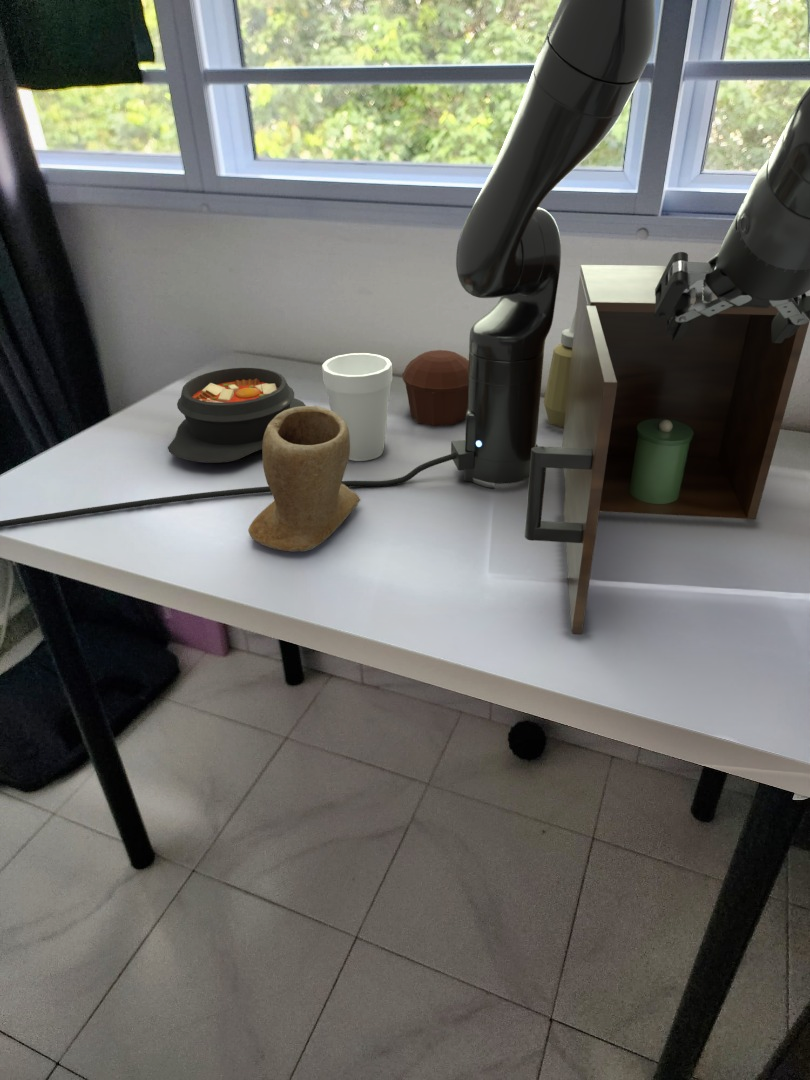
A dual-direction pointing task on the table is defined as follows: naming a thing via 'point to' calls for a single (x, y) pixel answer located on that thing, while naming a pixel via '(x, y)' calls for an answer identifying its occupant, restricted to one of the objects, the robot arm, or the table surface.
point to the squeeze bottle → (559, 378)
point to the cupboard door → (578, 468)
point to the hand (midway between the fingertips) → (724, 332)
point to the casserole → (229, 413)
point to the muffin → (437, 387)
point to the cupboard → (687, 392)
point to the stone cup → (304, 479)
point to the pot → (659, 460)
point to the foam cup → (360, 399)
